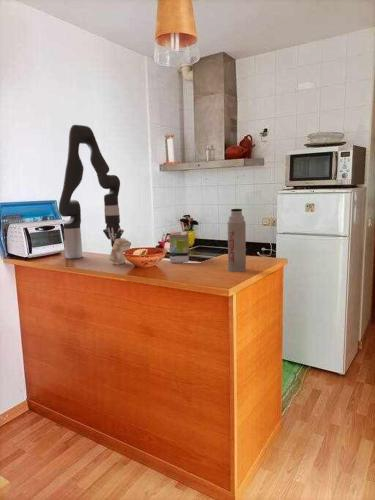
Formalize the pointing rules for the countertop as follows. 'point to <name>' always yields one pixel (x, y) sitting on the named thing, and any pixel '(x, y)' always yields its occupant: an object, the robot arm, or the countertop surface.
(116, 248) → the birch block
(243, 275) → the countertop surface
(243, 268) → the thermos bottle
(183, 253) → the tea box
